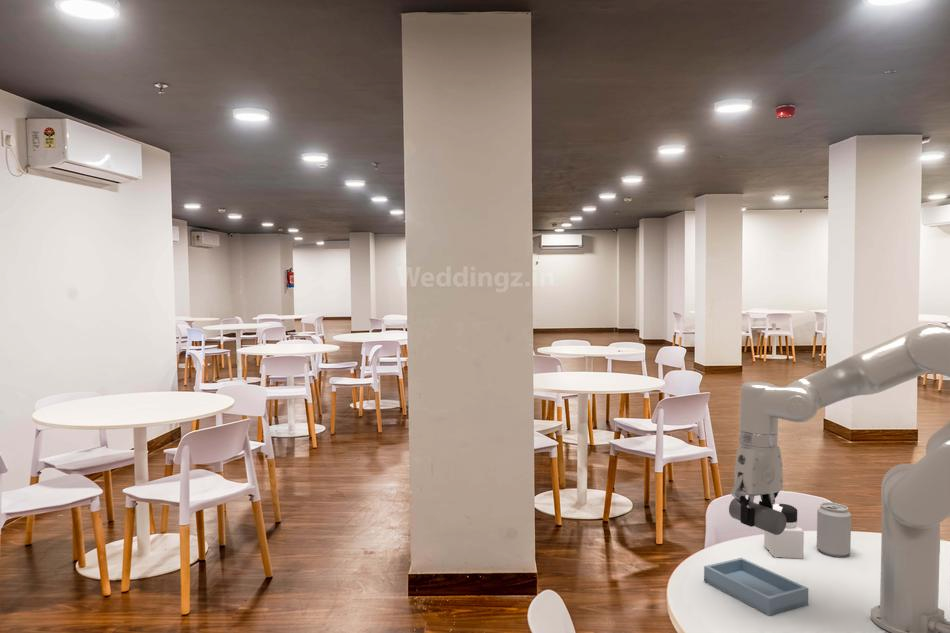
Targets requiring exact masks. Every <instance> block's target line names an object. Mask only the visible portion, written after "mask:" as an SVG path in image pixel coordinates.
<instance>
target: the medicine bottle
mask: <svg viewBox="0 0 950 633" xmlns="http://www.w3.org/2000/svg"><path fill="white" fill-rule="evenodd" d="M773 509H774V510H776V511H779V512H782V513H783V514H784V515H785V517H786V527H785V529H784V531H783V532H782V533H781V534H779V535H775V534H772V533H770V532H767V531H765V530H764V538H763V539H764V542H763V543H764V545H763V547H764V546H765V547H766V548H767V549H768V550H769V551H768V550H767V549H766V548H765V547H764V548H765V549H766V550H767V551H768V552H769V553H770V554H771V556H772V555H773V556H774V557H773V556H772V557H773V558H777V557H782V558H783V559H803V558H804V542H805V540H804V539H805V537H804V535H805V534H804V533H805V531H804V530H803V529H802V528H801V527H800V526H799V525H798V509H797V508H796V507H795V506H793V505H790V504H788V503H787V504H786V503H775V504H773ZM782 558H781V559H782Z"/></svg>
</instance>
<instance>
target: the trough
mask: <svg viewBox="0 0 950 633" xmlns="http://www.w3.org/2000/svg"><path fill="white" fill-rule="evenodd" d="M703 570H704V571H703V582H704V581H705V582H704V583H706V584H708V583H709V584H708V585H710V586H712V587H714V588H715V589H717V588H718V589H717V590H719V589H720V590H719V591H721V592H723V593H724V594H727V595H729V596H731V597H732V598H735V599H736V600H739V601H740V602H742V603H744V604H746V605H747V606H749V607H751V608H753V609H755V610H757V611H759V612H761V613H763V614H765V615H766V616H768V617H770V616H773V615H777V614H781V613H784V612H787V611H791V610H794V609H798V608H801V607H805V606H808V605H809V587H807V586H804V585H802V584H800V583H798V582H797V581H793V580H792V579H790V578H787V577H785V576H783V575H780V574H778V573H776V572H774V571H771V570H770V569H768V568H765V567H763V566H761V565H759V564H756V563H754V562H751V561H750V560H747V559H745V558H743V557H739V558H738V557H737V558H734V559H729V560H725V561H721V562H717V563H711V564H708V565H707V564H706V565H704V566H703Z"/></svg>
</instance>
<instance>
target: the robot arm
mask: <svg viewBox="0 0 950 633" xmlns="http://www.w3.org/2000/svg"><path fill="white" fill-rule="evenodd" d="M928 373H935V374H938V375H941V376H945V377H948V378H950V327H946V326H942V325H939V324H925V325H921V326H918V327H915V328H913V329H911V330H909V331H906V332H904V333H902V334H899V335H898V336H895V337H893V338H891V339H888V340H886V341H884V342H883V341H882V343H879V344H876V345H874V346H872V347H870V348H868V349H865V350H863V351H860V352H858V353H856V354H853V355H851V356H849V357H847V358H845V359H843V360H841V361H839V362H837V363H834V364H832V365H830V366H827V367H825V368H822V369H820V370H818V371H816V372H812V373H810V374H809V375H806V376H804V377H801V378H799V379H797V380H795V381H792V382H791V383H789V384H788V385H786V386H777V385H775V384H773V383H770V382H763V381H748V382H744V383H743V384H742V385H741V388H740V403H739V404H740V408H739V412H740V413H739V416H740V417H739V420H740V421H739V436H738V441H739V445H738V447H737V451H736V456H735V464H734V465H735V466H734V476H733V478H734V484H733V487H732V489H731V491H730V495H731V496H732V497H733V498H736V500H737V501H738V503H739V505H741V515H740V520H739V521H740V523H741V524H743V525H745V526H748V527H755V526H754V514H755V510H754V508H752V506H753V502H754V500H755V497H757V496H760V500H759V501H758V504H760V505H762V506H765V507H768V508H771V509H773V505H775V504H776V498H777V496H778V495H779V492H780V491H781V490H782V489H783V484H784V482H783V481H784V479H783V478H784V476H783V475H784V472H783V459H782V452H781V449H780V446H779V445H778V434H779V433H778V432H779V430H778V429H779V420H784V421H789V422H793V423H806V422H808V421H810V420H812V419H813V418H814V417H815V416H816V415H817V414H818V411H819V410H820V409H823V408H825V407H828V406H830V405H833V404H835V403H838V402H841V401H844V400H847V399H850V398H853V397H857V396H868V395H869V396H870V395H875V394H878V393H882V392H884V391H887V390H889V389H892V388H894V387H897V386H898V385H901V384H903V383H906V382H908V381H911V380H914V379H916V378H918V377H921V376H923V375H926V374H928ZM925 452H926V453H925V455H924V456H923V457H922V458H921V459H920V460H918V461H917V462H916V463H915V464H914V463H902V464H900V463H899V464H897V465H895V466H893V467H891V468H889V470H887V472H886V473H885V474H884V476H883V479H882V481H881V489H880V490H881V491H880V493H881V494H880V496H881V498H880V499H881V547H880V548H881V549H880V550H881V552H880V589H879V590H880V591H879V592H880V593H879V605H876V606H874V607H873V608H871V609H870V619H871V620H872V621H873V623H875V625H877V626H878V627H880V628H881V629H884V630H885V631H887V632H889V633H950V621H949V620H947V619H946V618H945V610H943V609H941V608H939V598H940V597H939V592H940V556H941V555H940V553H941V523H942V522H944V521H945V520H946V519H948V518H949V517H950V420H949V421H947V423H946V424H944V425H943V426H942V427H941V428H939V429H938V430H937V431H935V432H934V433H933V434H932V435H931V437H929V439H928V440H927V442H926V445H925ZM746 496H747V497H748V498H746Z"/></svg>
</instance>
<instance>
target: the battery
mask: <svg viewBox="0 0 950 633" xmlns="http://www.w3.org/2000/svg"><path fill="white" fill-rule="evenodd" d="M752 508H754V510H755V514H754V526H753V527H755V528H758V529H760V530H762V531H764V532H765V531H767V532H770V533H772V534H775V535H779V534H781V533H782V532H783V531H784V529H785V527H786V517H785V515H784V514H783V513H782V512H779V511H776V510H774V509H771V508H768V507H765V506H762V505H760V504H759V503H757V502H754V501H753V506H752ZM728 513H729V516H730V517H731V518H733V519H734V520H738V521H740V515H741V505H739V503H738V501H737V500H736V498H735V497H733V498H732V500H731V501H730V503H729V505H728Z"/></svg>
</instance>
